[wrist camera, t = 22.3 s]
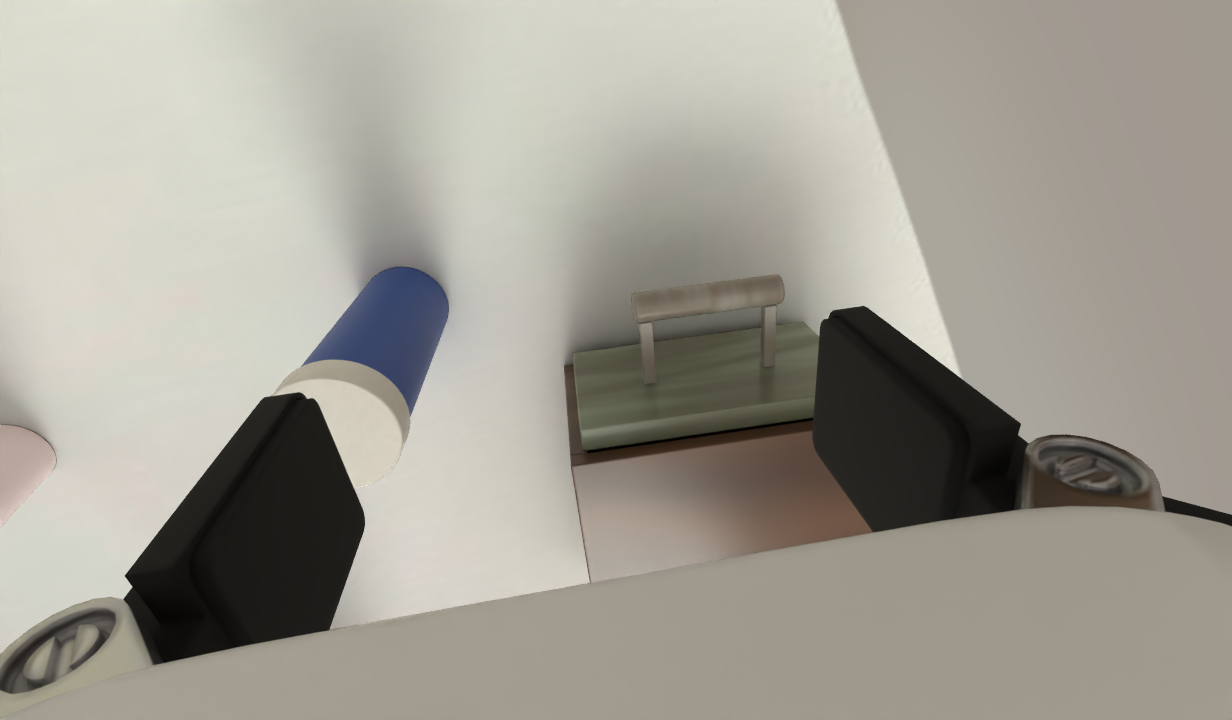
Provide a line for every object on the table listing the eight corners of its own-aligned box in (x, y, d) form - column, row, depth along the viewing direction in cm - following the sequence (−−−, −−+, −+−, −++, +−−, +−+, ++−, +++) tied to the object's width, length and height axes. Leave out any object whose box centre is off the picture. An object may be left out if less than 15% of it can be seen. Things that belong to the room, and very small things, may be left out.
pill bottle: (348, 269, 30) (235, 388, 19) (440, 258, 30) (381, 368, 19) (375, 350, 32) (287, 499, 21) (460, 339, 32) (417, 480, 21)
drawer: (560, 272, 30) (565, 333, 23) (808, 241, 31) (884, 291, 24) (599, 542, 39) (611, 644, 32) (791, 512, 40) (844, 606, 33)
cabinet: (563, 365, 34) (570, 465, 25) (806, 332, 35) (892, 418, 26) (593, 558, 41) (607, 687, 32) (793, 527, 42) (858, 645, 33)
